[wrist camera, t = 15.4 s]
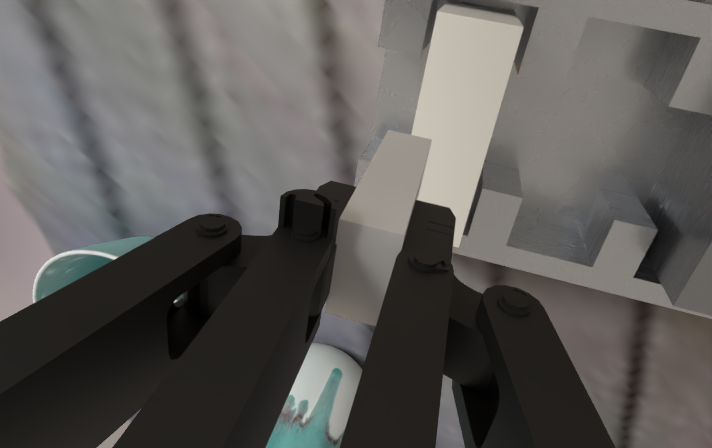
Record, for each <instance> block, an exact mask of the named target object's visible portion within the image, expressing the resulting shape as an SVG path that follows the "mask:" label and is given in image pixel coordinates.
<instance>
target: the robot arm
mask: <svg viewBox="0 0 712 448" xmlns="http://www.w3.org/2000/svg"><path fill="white" fill-rule="evenodd" d="M431 142H432V139H428V138H423V137H419V136H414V135H410V134H405V133H401V132H396V131H392V130H388V131H387V133H386V135H385V137H384V138H383V140H382V142H381V144H380V146H379V147H378V149H377V151H376V153H375V155H374V157H373V158H372V160H371V162H370V164H369V166H368V167H367V169H366V171H365V173H364V175H363V177H362V178H361V180H360V182H359V184H358V186H357V187H355V186H351V185H346V184H342V183H338V182H334V181H330V182H328V183H326V184H324V185H321V186H319V188H318V189H317V191H315V190H308V189H298V190H292V191H288V192H286V193H284V194H283V195H281V198H280V210H279V222H278V228H277V229H276V230H275V232H274V233H273V234H272V235H270V236H250V235H241V234H242V227H241V225H240V224H239V222H238V221H236V220H235V219H233V218H231V217H228V216H225V215H221V214H204V215H198V216H195V217H192V218H190V219H188V220H186V221H184V222H182V223H180V224H179V225H177V226H175V227H173V228H171V229H169V230H168V231H166V232H164V233H162V234H160V235H158V236H157V237H155V238H153V239H151V240H149V241H147V242H146V243H144V244H142V245H140V246H138V247H136V248H135V249H133V250H131V251H129V252H127V253H125V254H124V255H122V256H120V257H118V258H116V259H114V260H113V261H111V262H109V263H107V264H105V265H103V266H102V267H100V268H98V269H96V270H94V271H92V272H91V273H89V274H87V275H85V276H83V277H81V278H80V279H78V280H76V281H74V282H72V283H70V284H69V285H67V286H65V287H63V288H61V289H59V290H57V291H56V292H54V293H52V294H50V295H48V296H46V297H45V298H43V299H41V300H39V301H37V302H35V303H34V304H32V305H30V306H28V307H27V308H24V309H23V310H21V311H19V312H17V313H15V314H14V315H12V316H10V317H8V318H6V319H4V320H2V321H1V322H0V448H96V447H98V446H99V445H100V444H101V443H102V442H103V441H104V440H106V439H107V438H108V437H109V436H110V435H111V434H113V433H114V432H115V431H116V430H117V429H118V428H119V427H120V426H122V425H123V424H124V423H125V422H126V421H127V420H128V419H130V418H131V417H132V416H133V415H134V414H135V413H136V412H138V411H139V410H140V409H141V408H142V407H143V408H142V409H141V410H140V412H139V413H138V414H137V416H136V417H135V418H134V420H133V421H132V422H131V424H130V425H129V426H128V428H127V429H126V430H125V432H124V433H123V434H122V436H121V437H120V438H119V440H118V441H117V442H116V444H115V445H114V446H113V448H266V445H267V443H268V441H269V439H270V436H271V434H272V432H273V430H274V427H275V425H276V423H277V421H278V418H279V416H280V414H281V411H282V409H283V407H284V405H285V402H286V400H287V398H288V396H289V393H290V391H291V389H292V387H293V384H294V382H295V380H296V378H297V375H298V373H299V371H300V368H301V366H302V364H303V362H304V359H305V357H306V355H307V353H308V350H309V348H310V346H311V344H312V341H313V339H314V337H315V334H316V332H317V330H318V328H319V324H320V318H321V311H322V308H323V306H324V304H325V302H326V307H325V313H329V314H332V315H336V316H340V317H343V318H347V319H351V320H354V321H358V322H362V323H365V324H369V325H373V326H376V327H375V330H374V334H373V337H372V340H371V344H370V347H369V351H368V354H367V357H366V361H365V364H364V367H363V371H362V374H361V377H360V381H359V384H358V387H357V391H356V394H355V397H354V401H353V404H352V407H351V411H350V414H349V417H348V421H347V424H346V428H345V431H344V434H343V438H342V441H341V444H340V448H435V445H436V436H437V426H438V417H439V407H440V397H441V388H442V378H443V374H444V375H446V376H447V377H449V378H451V379H453V380H452V390H453V394H454V399H455V403H456V408H457V412H458V417H459V421H460V426H461V430H462V435H463V439H464V444H465V448H615V446H614V444H613V442H612V440H611V438H610V436H609V434H608V432H607V430H606V428H605V426H604V424H603V422H602V420H601V418H600V416H599V414H598V412H597V411H596V409H595V407H594V405H593V403H592V401H591V399H590V397H589V395H588V393H587V391H586V389H585V387H584V385H583V383H582V381H581V379H580V377H579V375H578V373H577V371H576V369H575V368H574V366H573V364H572V362H571V360H570V358H569V356H568V354H567V352H566V350H565V348H564V346H563V344H562V342H561V340H560V338H559V336H558V334H557V332H556V330H555V328H554V327H553V325H552V323H551V321H550V319H549V317H548V315H547V313H546V311H545V309H544V307H543V306H542V305H541V304H540V302H539V301H538V300H537V299H536V298H534V297H533V296H531V295H530V294H529V293H527V292H525V291H523V290H521V289H518V288H515V287H510V286H506V285H496V286H492V287H490V288H487V289H486V291H485V292H484V293H483V294H481V293H479V292H477V291H475V290H473V289H471V288H469V287H467V286H466V285H464V284H463V283H462V282H460V281H459V280H458V279H457V278H456V277H455V275H454V274H453V273H454V270H453V266H452V264H451V258H452V249H453V240H454V231H455V222H456V217H455V215H454V214H453V212H452V211H451V209H450V208H448V207H444V206H440V205H436V204H432V203H427V202H423V201H419V200H418V196H419V192H420V187H421V183H422V179H423V175H424V171H425V167H426V162H427V158H428V154H429V150H430V146H431ZM182 294H183V298H181V299H180V300H179V301H177V302H175V303H173V302H174V301H175V300H176V299H177V298H178V297H179V296H181V295H182ZM326 299H327V301H326Z"/></svg>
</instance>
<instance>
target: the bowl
mask: <svg viewBox="0 0 712 448" xmlns="http://www.w3.org/2000/svg"><path fill="white" fill-rule="evenodd" d="M153 238H154V237H148V236H138V237H131V238H126V239H120V240H115V241H110V242H105V243H100V244H95V245H91V246H87V247H82V248H78V249H74V250H70V251H66V252H63V253H60V254H58V255H56V256H54V257H52V258H51V259H49V260H48V261H47V262H46V263H45V264H44V265H43V266H42V267H41V269H40V270H39V272H38V274H37V276H36V278H35V281H34V285H33V304H34V303H35V302H37V301H39V300H41V299H43V298H45V297H46V296H48V295H50V294H52V293H54V292H56V291H57V290H59V289H61V288H63V287H65V286H67V285H69V284H70V283H72V282H74V281H76V280H78V279H80V278H81V277H83V276H85V275H87V274H89V273H91V272H92V271H94V270H96V269H98V268H100V267H102V266H103V265H105V264H107V263H109V262H111V261H113V260H114V259H116V258H118V257H120V256H122V255H124V254H125V253H127V252H129V251H131V250H133V249H135V248H136V247H138V246H140V245H142V244H144V243H146V242H147V241H149V240H151V239H153ZM181 298H183V294H182V295H181V296H179V297H178V298H177V299H176V300H175V301H174V302H173V303H175V302H177V301H179V300H180V299H181Z"/></svg>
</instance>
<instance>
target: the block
mask: <svg viewBox="0 0 712 448" xmlns="http://www.w3.org/2000/svg"><path fill="white" fill-rule="evenodd" d="M523 28H524V27H523V25H522V23H521V22H520V20H519V18H518V16H517V14H516V13H515V11H512V10H506V9H501V8H495V7H490V6H484V5H479V4H473V3H467V2H462V1H456V0H449V1H448V2H447V3H446V4H445V5H444V6H442V7H441V8H440V9H439V10H438V11H437V15H436V20H435V25H434V29H433V34H432V39H431V44H430V48H429V53H428V58H427V63H426V67H425V72H424V77H423V82H422V86H421V91H420V96H419V100H418V105H417V110H416V115H415V119H414V124H413V129H412V134H411V135H414V136H419V137H423V138H428V139H432V142H431V146H430V150H429V154H428V158H427V162H426V167H425V171H424V175H423V179H422V183H421V187H420V192H419V196H418V200H419V201H423V202H427V203H432V204H436V205H440V206H444V207H448V208H450V209H451V211H452V212H453V214H454V215H455V217H456V222H455V231H454V240H453V246H454V247H458V248H459V245H460V242H461V238H462V235H463V231H464V228H465V225H466V221H467V218H468V214H469V211H470V208H471V204H472V201H473V198H474V194H475V191H476V187H477V184H478V181H479V177H480V174H481V170H482V167H483V164H484V160H485V157H486V153H487V150H488V147H489V143H490V140H491V137H492V133H493V130H494V126H495V123H496V120H497V116H498V113H499V109H500V106H501V103H502V99H503V96H504V93H505V89H506V86H507V82H508V79H509V76H510V72H511V69H512V65H513V62H514V59H515V55H516V52H517V48H518V45H519V42H520V38H521V35H522V32H523Z"/></svg>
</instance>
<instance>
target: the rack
mask: <svg viewBox="0 0 712 448" xmlns="http://www.w3.org/2000/svg"><path fill="white" fill-rule="evenodd" d="M448 1H449V0H386V1H385V7H384V13H383V19H382V25H381V31H380V36H379V42H378V47H383V48H386V52H385V58H384V64H383V69H382V75H381V80H380V86H379V92H378V97H377V103H376V109H375V114H374V120H373V125H372V131H371V137H370V142H369V144H368V146H367V147H366V149H365V150H364V152H363V153H362V155H361V156H360V158H359V160H358V166H357V172H356V178H355V184H354V186H355V187H357V186H358V184H359V182H360V180H361V178H362V177H363V175H364V173H365V171H366V169H367V167H368V166H369V164H370V162H371V160H372V158H373V157H374V155H375V153H376V151H377V149H378V147H379V146H380V144H381V142H382V140H383V138H384V137H385V135H386V133H387V131H388V130H392V131H396V132H401V133H405V134H410V135H411V134H412V129H413V124H414V119H415V115H416V110H417V105H418V100H419V96H420V91H421V86H422V82H423V77H424V72H425V67H426V63H427V58H428V53H429V48H430V44H431V39H432V34H433V29H434V25H435V20H436V15H437V11H438V10H439V9H440V8H441V7H442V6H444V5H445V4H446V3H447V2H448ZM456 1H462V2H467V3H473V4H479V5H484V6H490V7H495V8H501V9H506V10H512V11H515V13H516V14H517V16H518V18H519V20H520V22H521V23H522V25H523V27H524V28H523V32H522V35H521V38H520V42H519V45H518V48H517V52H516V55H515V59H514V62H513V65H512V69H511V72H510V76H509V79H508V82H507V86H506V89H505V93H504V96H503V99H502V103H501V106H500V109H499V113H498V116H497V120H496V123H495V126H494V130H493V133H492V137H491V140H490V143H489V147H488V150H487V153H486V157H485V160H484V164H483V167H482V170H481V174H480V177H479V181H478V184H477V187H476V191H475V194H474V198H473V201H472V204H471V208H470V211H469V214H468V218H467V221H466V225H465V228H464V231H463V235H462V238H461V242H460V245H459V248H458V247H454V246H453V249H452V253H455V254H459V255H463V256H467V257H471V258H475V259H479V260H483V261H487V262H491V263H495V264H499V265H502V266H506V267H510V268H514V269H518V270H522V271H526V272H530V273H534V274H538V275H542V276H545V277H549V278H553V279H557V280H561V281H565V282H569V283H573V284H577V285H581V286H585V287H588V288H592V289H596V290H600V291H604V292H608V293H612V294H616V295H620V296H624V297H628V298H631V299H635V300H639V301H643V302H647V303H651V304H655V305H659V306H663V307H667V308H671V309H675V310H678V311H682V312H686V313H690V314H694V315H698V316H702V317H706V318H710V319H712V4H706V3H700V2H695V1H689V0H456Z"/></svg>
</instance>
